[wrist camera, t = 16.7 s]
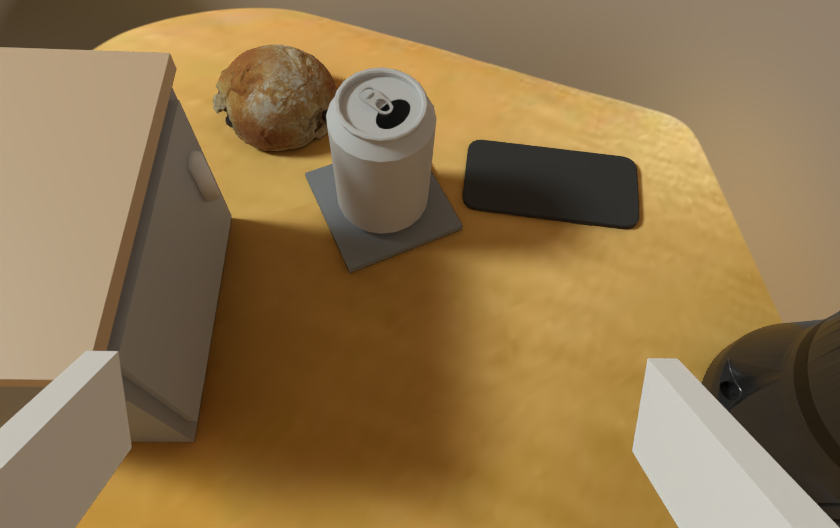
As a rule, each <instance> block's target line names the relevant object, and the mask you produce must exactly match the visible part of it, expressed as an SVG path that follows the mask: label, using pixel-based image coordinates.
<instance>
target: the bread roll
mask: <svg viewBox="0 0 840 528" xmlns="http://www.w3.org/2000/svg"><path fill="white" fill-rule="evenodd" d="M216 87H217V88H218V90H219V91H218V93H217V94H216V95H214V98H213V103H214V106H213V108H214V110H215V111H216V113H219V112H222V110H223V111H226V112H227V115H228V116H227V117H226V124H227V125H228V126H230V127H233V130H235V134H236V135H237V136H238V137H239V138H240V139H242V140H243V141H245V143H246V144H249V145H252V146H254V147H256V148H258V149H261V150H264V151H267V150H271V151H279V152H280V151H283V150H288V149H295V148H299V147H302V146H305V145H307V144H309V143H310V142H311V141H312V140H313V139H321V138H323V137H324V136H325V135H326V134H327V133H328V128H327V119H326V115H327V111H328V108H329V105H330V102H331V101H332V99H333V98H334V97H335V94H336V90H335V84H334V81H333V79H332V77H331V75H330V73H329V71H328V70H327V69H326V67H325V66H324V65H323V64H322V63H321V62H320V61H319V60H318V59H316V58H315V57H314V56H313V55H311V54H308V53H306V52H304V51H302V50H300V49H297V48H293V47H289V46H284V45H266V46H261V47H257V48H254V49H251V50H247V51H246V52H244V53H242V54H241V55H239V56H238V57H237V58H236V59H235V60H234V61H233V62H232V63H231V64H230V66H229V67H228V68H227V69H225V70H223V71H222V72H221V76H220V78H219V81H218V82H217V84H216Z"/></svg>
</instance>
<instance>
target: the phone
mask: <svg viewBox="0 0 840 528" xmlns="http://www.w3.org/2000/svg"><path fill="white" fill-rule="evenodd" d="M463 201H464V203H465V205H466V206H467V207H469V208H470V209H473V210H478V211H485V212H493V213H501V214H509V215H516V216H524V217H532V218H540V219H547V220H555V221H563V222H571V223H576V224H584V225H594V226H602V227H609V228H617V229H631V228H633V227H634V226H635V225H636V223H637V222H638V220H639V200H638V181H637V168H636V165H635V163H634V162H633V161H632V160H631V159H629V158H626V157H622V156H614V155H606V154H597V153H589V152H581V151H572V150H564V149H555V148H547V147H539V146H530V145H522V144H513V143H505V142H497V141H488V140H476V141H473V142H472V143H471V144H470V145H469V148H468V153H467V162H466V171H465V180H464V190H463Z"/></svg>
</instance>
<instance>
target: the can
mask: <svg viewBox="0 0 840 528" xmlns="http://www.w3.org/2000/svg"><path fill="white" fill-rule="evenodd" d="M326 119H327V128H328V135H329V142H330V149H331V156H332V163H333V170H334V177H335V184H336V191H337V198H338V205H339V207H340V209H341V211H342V213H343V214H344V216H345V217H346V218H347V219H348V220H349V221H350V222H351V223H352V224H353V225H355V226H357V227H359V228H361V229H363V230H365V231H368V232H374V233H380V234H383V233H392V232H397V231H400V230H402V229H405V228H407V227H409V226H411V225H412V224H413V223H414V222H415V221H417V220H418V219H419V218H420V217H421V215H422V213H423V212H424V210H425V208H426V206H427V200H428V195H429V185H430V176H431V166H432V156H433V147H434V137H435V127H436V115H435V110H434V106H433V104H432V103H431V101H430V100H429V98H428V97H427V95H426V92H425V91H424V89H423V88H422V86H421V85H420V83H419V82H417V81H416V80H415V79H414V78H412V77H411V76H410V75H408V74H406V73H403V72H401V71H398V70H395V69H388V68H372V69H366V70H363V71H360V72H357V73H355V74H353V75H352V76H350V77H349V78H347V79H346V80H344V82H343V83H342V84H341V86H340V87H339V88H338V89H337V92H336V95H335V97H334V98H333V99H332V101H331V102H330V105H329V108H328V111H327V115H326Z"/></svg>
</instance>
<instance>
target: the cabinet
mask: <svg viewBox="0 0 840 528" xmlns="http://www.w3.org/2000/svg"><path fill="white" fill-rule="evenodd" d="M175 73H176V66H175V64H174V62H173V59H172V57H171V55H170V53H156V52H125V51H95V50H65V49H35V48H5V47H0V428H1V427H2V426H3V425H4V424H5V423H6V422H7V421H9V420H10V419H11V418H12V417H13V416H14V415H15V414H16V413H17V412H19V411H20V410H21V409H22V408H23V407H24V406H25V405H26V404H27V403H29V402H30V401H31V400H32V399H33V398H34V397H35V396H36V395H37V394H39V393H40V392H41V391H42V390H43V389H44V388H45V387H46V386H47V385H49V384H50V383H51V382H52V381H53V380H54V379H55V378H56V377H58V376H59V375H60V374H61V373H62V372H63V371H64V370H65V369H66V368H68V367H69V366H70V365H71V364H72V363H73V362H74V361H75V360H76V359H78V358H79V357H80V356H81V355H82V354H83V353H84V352H85V351H118V353H119V360H120V367H121V374H122V382H123V389H124V396H125V403H126V410H127V417H128V424H129V431H130V439H131V442H194V441H195V435H196V429H197V423H198V417H199V411H200V405H201V398H202V392H203V386H204V380H205V374H206V368H207V362H208V356H209V350H210V344H211V338H212V332H213V326H214V320H215V314H216V308H217V302H218V296H219V290H220V284H221V278H222V272H223V266H224V260H225V254H226V248H227V242H228V236H229V230H230V224H231V218H232V217H231V213H230V211H229V209H228V207H227V205H226V202H225V200H224V198H223V196H222V194H221V191H220V189H219V187H218V185H217V183H216V180H215V178H214V176H213V174H212V172H211V169H210V167H209V165H208V163H207V161H206V158H205V156H204V154H203V152H202V150H201V147H200V145H199V143H198V141H197V139H196V136H195V134H194V132H193V130H192V128H191V125H190V123H189V121H188V119H187V117H186V114H185V112H184V110H183V108H182V106H181V103H180V101H179V100H178V99H177V97H176V95H175V93H174V91H173V88H172V85H173V81H174V77H175Z"/></svg>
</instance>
